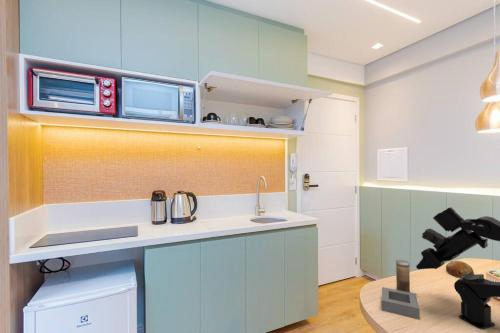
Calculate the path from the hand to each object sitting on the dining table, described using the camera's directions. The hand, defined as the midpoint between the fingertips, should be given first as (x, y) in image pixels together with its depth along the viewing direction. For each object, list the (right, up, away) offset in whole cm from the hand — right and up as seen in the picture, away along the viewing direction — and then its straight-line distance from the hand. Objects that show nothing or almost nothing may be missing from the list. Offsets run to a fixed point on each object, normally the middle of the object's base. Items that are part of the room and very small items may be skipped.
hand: (422, 265), depth 93 cm
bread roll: (+33, -14, +22) cm, 42 cm away
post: (-4, -13, +6) cm, 15 cm away
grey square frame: (-11, -13, -4) cm, 18 cm away
